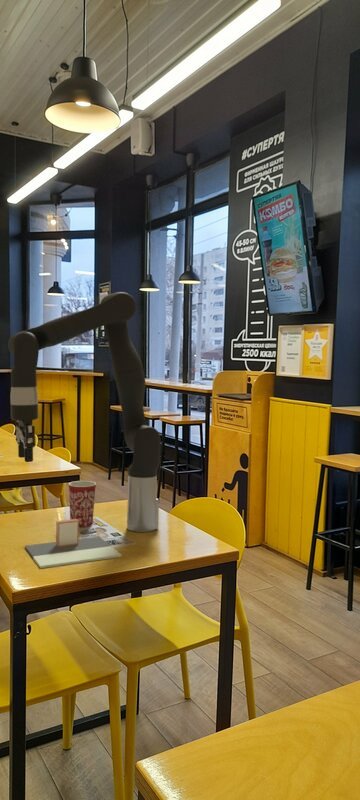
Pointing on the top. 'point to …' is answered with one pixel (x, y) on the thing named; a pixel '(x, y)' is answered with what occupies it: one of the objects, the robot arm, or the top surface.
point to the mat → (71, 552)
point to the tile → (67, 532)
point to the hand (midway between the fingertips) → (25, 459)
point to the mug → (82, 501)
